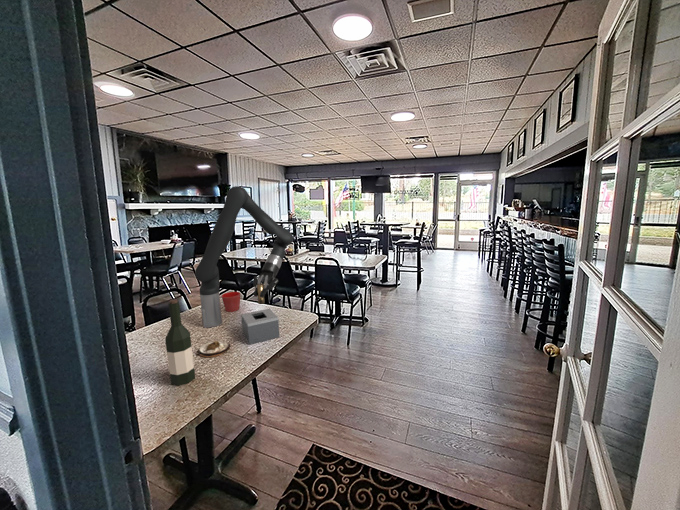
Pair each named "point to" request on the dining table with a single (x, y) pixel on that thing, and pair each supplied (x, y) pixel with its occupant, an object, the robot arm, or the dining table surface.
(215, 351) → the plate of food
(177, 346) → the wine bottle
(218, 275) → the robot arm
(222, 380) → the dining table surface
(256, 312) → the box
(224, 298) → the flower pot
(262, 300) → the brown glossy cylinder
